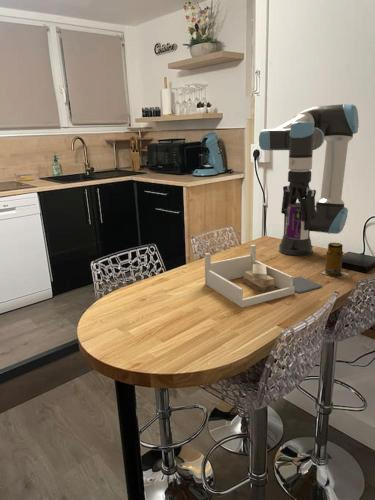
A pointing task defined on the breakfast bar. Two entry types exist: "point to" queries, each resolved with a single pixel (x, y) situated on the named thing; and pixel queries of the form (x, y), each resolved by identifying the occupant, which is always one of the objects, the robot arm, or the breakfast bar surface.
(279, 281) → the frame
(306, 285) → the coaster
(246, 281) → the offcut walnut
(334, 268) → the condiment
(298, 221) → the beverage can
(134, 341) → the breakfast bar surface
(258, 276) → the offcut birch
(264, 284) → the offcut oak
